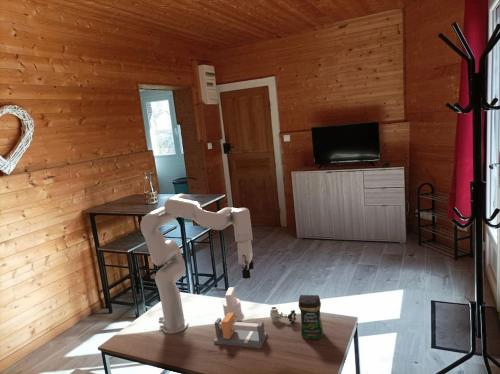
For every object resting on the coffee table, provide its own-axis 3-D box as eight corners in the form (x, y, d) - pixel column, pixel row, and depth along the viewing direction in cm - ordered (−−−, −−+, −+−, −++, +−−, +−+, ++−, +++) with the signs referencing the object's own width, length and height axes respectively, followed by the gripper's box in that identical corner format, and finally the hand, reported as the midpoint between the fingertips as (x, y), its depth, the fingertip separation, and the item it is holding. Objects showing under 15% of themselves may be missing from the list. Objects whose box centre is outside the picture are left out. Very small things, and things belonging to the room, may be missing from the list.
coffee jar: (300, 340, 164) (296, 300, 161) (302, 329, 171) (298, 291, 168) (323, 340, 161) (319, 300, 158) (324, 330, 169) (320, 291, 166)
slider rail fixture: (214, 343, 169) (211, 326, 168) (223, 331, 178) (220, 314, 177) (260, 348, 161) (258, 330, 160) (267, 335, 171) (265, 317, 169)
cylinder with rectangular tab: (226, 308, 200) (223, 287, 198) (242, 308, 198) (239, 286, 196) (222, 317, 191) (219, 295, 189) (240, 316, 190) (237, 294, 188)
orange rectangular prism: (223, 338, 168) (221, 321, 167) (230, 328, 175) (228, 312, 174) (229, 338, 167) (227, 322, 166) (236, 328, 174) (234, 312, 173)
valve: (268, 323, 180) (291, 327, 175) (266, 310, 179) (290, 314, 174) (274, 316, 186) (296, 320, 180) (272, 304, 185) (295, 307, 179)
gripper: (238, 231, 173) (243, 266, 176) (231, 243, 156) (236, 282, 159) (255, 229, 172) (259, 265, 175) (249, 242, 155) (254, 281, 158)
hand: (248, 273), depth 167 cm, fingers open, 9 cm apart
